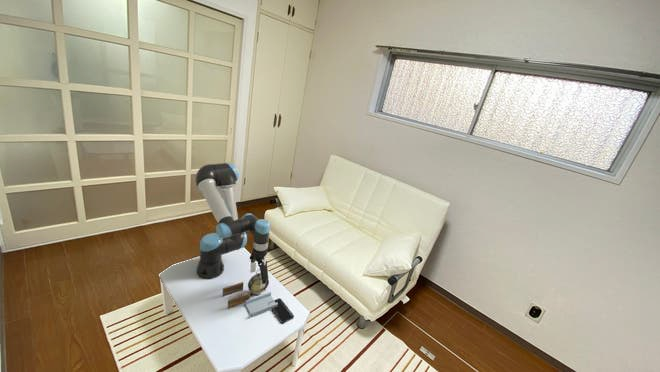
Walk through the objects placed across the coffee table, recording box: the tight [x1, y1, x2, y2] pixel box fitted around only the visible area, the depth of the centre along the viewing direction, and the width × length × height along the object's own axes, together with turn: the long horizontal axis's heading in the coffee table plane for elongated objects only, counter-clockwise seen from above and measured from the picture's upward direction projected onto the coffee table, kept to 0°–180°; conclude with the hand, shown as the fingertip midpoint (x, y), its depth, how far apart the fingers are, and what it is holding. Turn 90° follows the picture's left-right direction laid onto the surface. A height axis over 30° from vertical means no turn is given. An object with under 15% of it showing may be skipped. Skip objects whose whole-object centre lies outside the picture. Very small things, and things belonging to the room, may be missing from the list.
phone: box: [270, 297, 295, 324], centre depth 142 cm, size 8×1×15 cm
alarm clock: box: [247, 268, 270, 297], centre depth 149 cm, size 11×5×16 cm, turn 128°
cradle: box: [244, 291, 278, 318], centre depth 143 cm, size 10×14×2 cm, turn 128°
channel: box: [221, 281, 251, 310], centre depth 144 cm, size 10×11×5 cm
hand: (257, 279), depth 148 cm, fingers open, 13 cm apart
